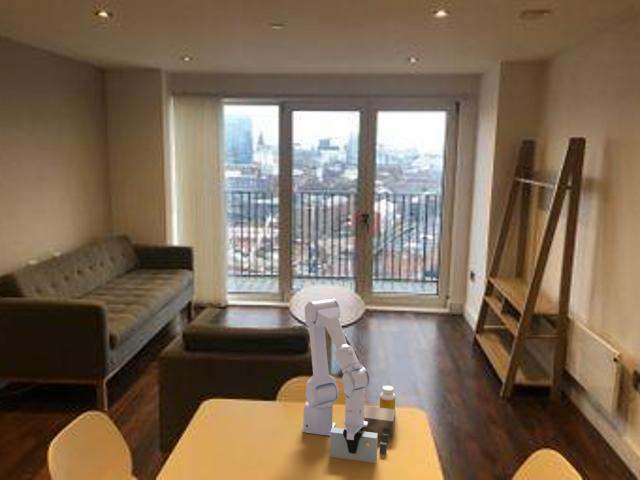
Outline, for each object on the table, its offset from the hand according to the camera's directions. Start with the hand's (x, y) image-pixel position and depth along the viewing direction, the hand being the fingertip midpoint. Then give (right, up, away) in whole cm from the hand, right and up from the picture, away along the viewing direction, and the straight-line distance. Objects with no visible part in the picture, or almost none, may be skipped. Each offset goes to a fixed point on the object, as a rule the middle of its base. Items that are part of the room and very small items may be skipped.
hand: (353, 449), depth 166 cm
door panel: (0, -2, 0) cm, 2 cm away
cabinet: (+6, 0, +12) cm, 13 cm away
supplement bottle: (+13, +2, +27) cm, 30 cm away
